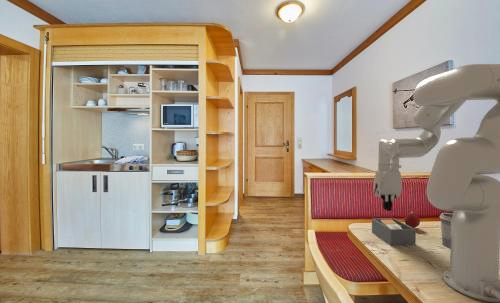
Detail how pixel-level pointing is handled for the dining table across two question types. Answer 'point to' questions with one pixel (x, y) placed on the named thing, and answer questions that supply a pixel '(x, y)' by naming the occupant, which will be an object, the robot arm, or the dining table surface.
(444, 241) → the cup
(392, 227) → the rocker
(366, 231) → the dining table surface
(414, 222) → the onion
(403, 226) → the switch box
